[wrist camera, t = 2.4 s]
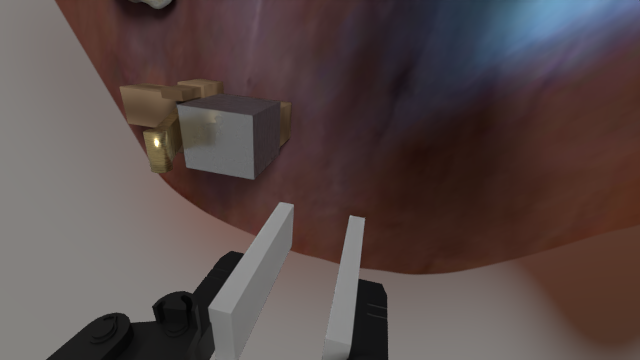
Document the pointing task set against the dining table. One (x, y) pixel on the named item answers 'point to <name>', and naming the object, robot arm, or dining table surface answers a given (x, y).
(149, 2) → the stone
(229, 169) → the brushed steel cube
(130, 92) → the tan wooden beam joint
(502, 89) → the dining table surface
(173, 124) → the lever
